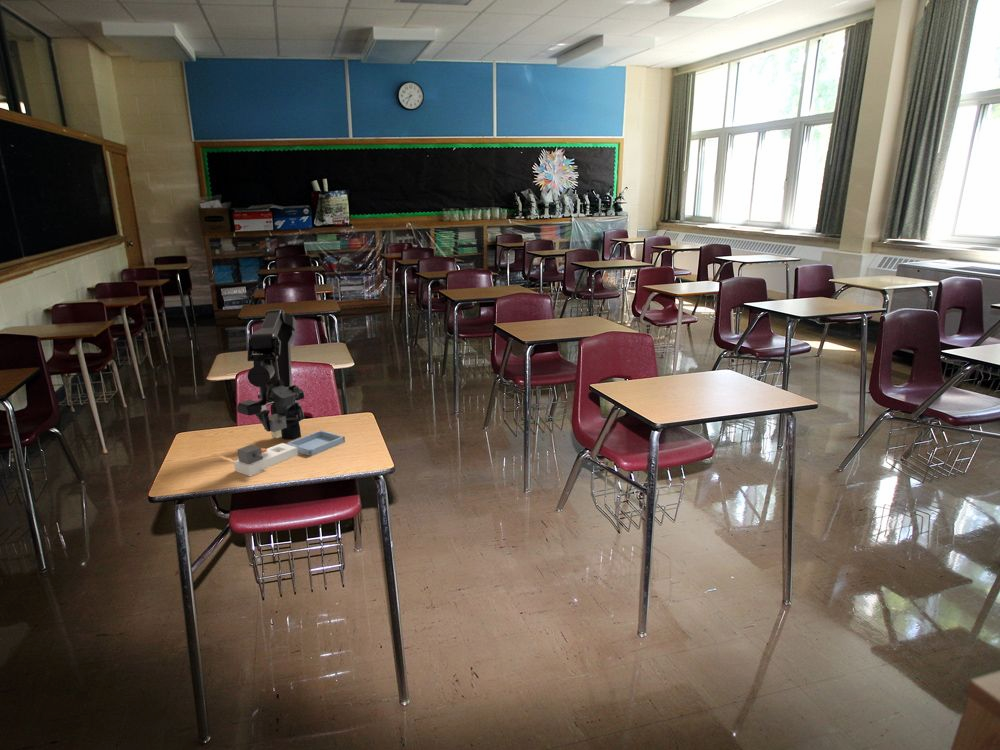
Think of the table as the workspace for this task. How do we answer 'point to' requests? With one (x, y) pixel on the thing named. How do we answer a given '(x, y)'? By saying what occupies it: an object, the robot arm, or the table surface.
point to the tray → (317, 442)
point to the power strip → (262, 457)
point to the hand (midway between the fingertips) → (275, 428)
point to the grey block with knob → (277, 424)
